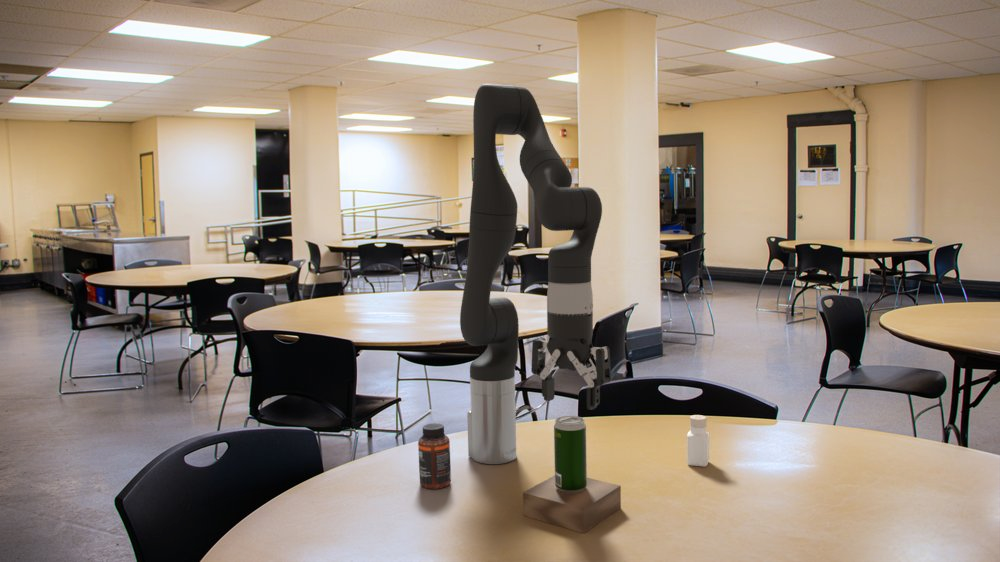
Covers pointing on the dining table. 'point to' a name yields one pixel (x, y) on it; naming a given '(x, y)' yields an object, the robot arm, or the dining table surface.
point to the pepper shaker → (698, 442)
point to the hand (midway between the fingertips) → (570, 404)
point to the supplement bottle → (434, 457)
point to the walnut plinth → (572, 504)
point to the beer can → (570, 454)
